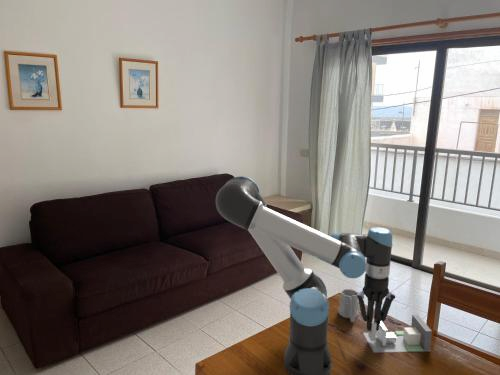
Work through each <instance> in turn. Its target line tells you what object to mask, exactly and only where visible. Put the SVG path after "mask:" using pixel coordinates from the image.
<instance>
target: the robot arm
mask: <svg viewBox="0 0 500 375" xmlns="http://www.w3.org/2000/svg"><path fill="white" fill-rule="evenodd" d="M215 207H216V210H217V211H218V214H220V216H221V217H222V218H224V219H225V220H226V221H228V222H229V223H231V224H233V225H236V226H237V227H239V228H242V229H244V230H245V231H248V233H249V234H250V235H251V236H252V238H253V239H254V240H255V242H256V244H257V245H258V246H259V248H260V249H261V251H262V253H264V255H265V257H266V258H267V259H268V261H269V262H270V264H271V265H272V267H273V268H274V270H275V271H276V273H278V275H279V277H280V278H281V279H282V281H283V285H282V289H283V290H284V292H285V293H286V294H287V296H288V298H289V299H290V301H289V318H290V319H289V342H288V344H287V345H286V346H287V347H286V349H285V352H284V355H283V366H284V369H285V371H286V372H288V373H289V374H290V375H330V374H331V372H332V369H333V368H332V366H333V359H332V356H331V353H330V348H329V345H328V325H329V312H330V305H329V304H330V303H329V299H328V297H327V296H328V291H327V286H326V285H325V283H324V280H323V279H322V278H321V277H320V276H319V275H318V274H315V272H314V271H313V270H312V269H311V268H310V267H306V266H304V264H303V263H302V261H301V260H300V259H299V256H297V255H296V253H295V251H294V250H293V249H292V248H294V249H296V250H297V251H301V252H303V253H305V254H307V255H309V256H312V257H314V258H316V259H318V260H320V261H322V262H325V263H327V264H329V265H330V266H333V267H335V268H338V269H339V271H340V272H341V273H342V275H343V276H344V277H346V278H349V279H358V278H361V276H363V275H364V281H363V282H364V286H363V287H362V290H361V291H360V292H358V291H356V292H357V293H356V296H357V298H358V300H359V303H358V306H359V309H360V315H361V319H363V321H364V322H366V327H365V328H366V330H367V331H368V332H367V333H368V337H369V338H370V340H371V341H375V337H376V331H378V330H379V324H381V322H380V321H382V322H385V321H386V320H387V317H388V314H389V311H390V308H391V306H392V303H393V301H394V300H395V299H396V295H395V293H394V292H392V291H390V289H389V282H390V277H389V276H390V272H391V271H390V269H391V259H392V258H391V256H392V249H393V232H392V231H391V230H389V229H387V228H386V227H377V226H376V227H370V228H369V229H368V232H367V233H363V234H362V233H349V232H343V231H342V232H333V233H331V234H330V235H328V234H325V233H324V232H321V231H319V230H318V229H315V228H312V227H310V226H308V225H307V224H304V223H303V222H302V223H301V222H300V221H297V220H295V219H293V218H291V217H288V216H287V215H284V214H282V213H279V212H277V211H275V210H273V209H271V208H270V207H269V208H268V207H267V203H266V201H265V200H264V198H263V197H262V196H261V194H260V189H259V187H258V184H257V183H256V181H254V180H253V179H252V178H250V177H249V176H244V175H238V176H236V177H235V176H234V177H232V178H231V179H229V180H228V181H227V182H226V183H224V185H223V186H222V187H221V188H220V189H219V190H218V191H217V193H216V197H215ZM365 296H366V298H367V309H366V306H365V305H366V304H365V301H364V299H365ZM383 300H384V301H383Z"/></svg>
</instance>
